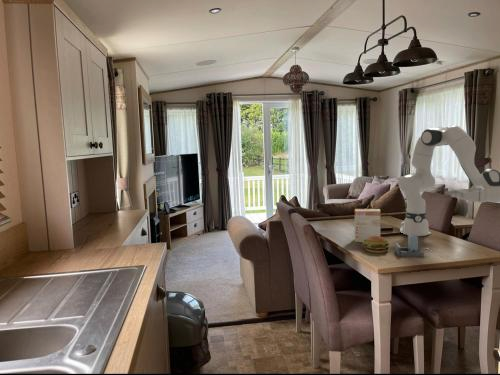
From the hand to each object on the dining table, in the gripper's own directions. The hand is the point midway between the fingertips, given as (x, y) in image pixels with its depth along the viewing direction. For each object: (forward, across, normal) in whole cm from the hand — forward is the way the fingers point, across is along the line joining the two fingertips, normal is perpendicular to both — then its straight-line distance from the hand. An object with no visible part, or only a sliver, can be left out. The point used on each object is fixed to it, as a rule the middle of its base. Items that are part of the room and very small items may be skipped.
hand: (448, 194), depth 206 cm
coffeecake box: (+38, -23, +32) cm, 55 cm away
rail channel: (+19, +4, +32) cm, 37 cm away
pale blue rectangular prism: (+18, +4, +32) cm, 37 cm away
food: (+36, -3, +32) cm, 49 cm away
